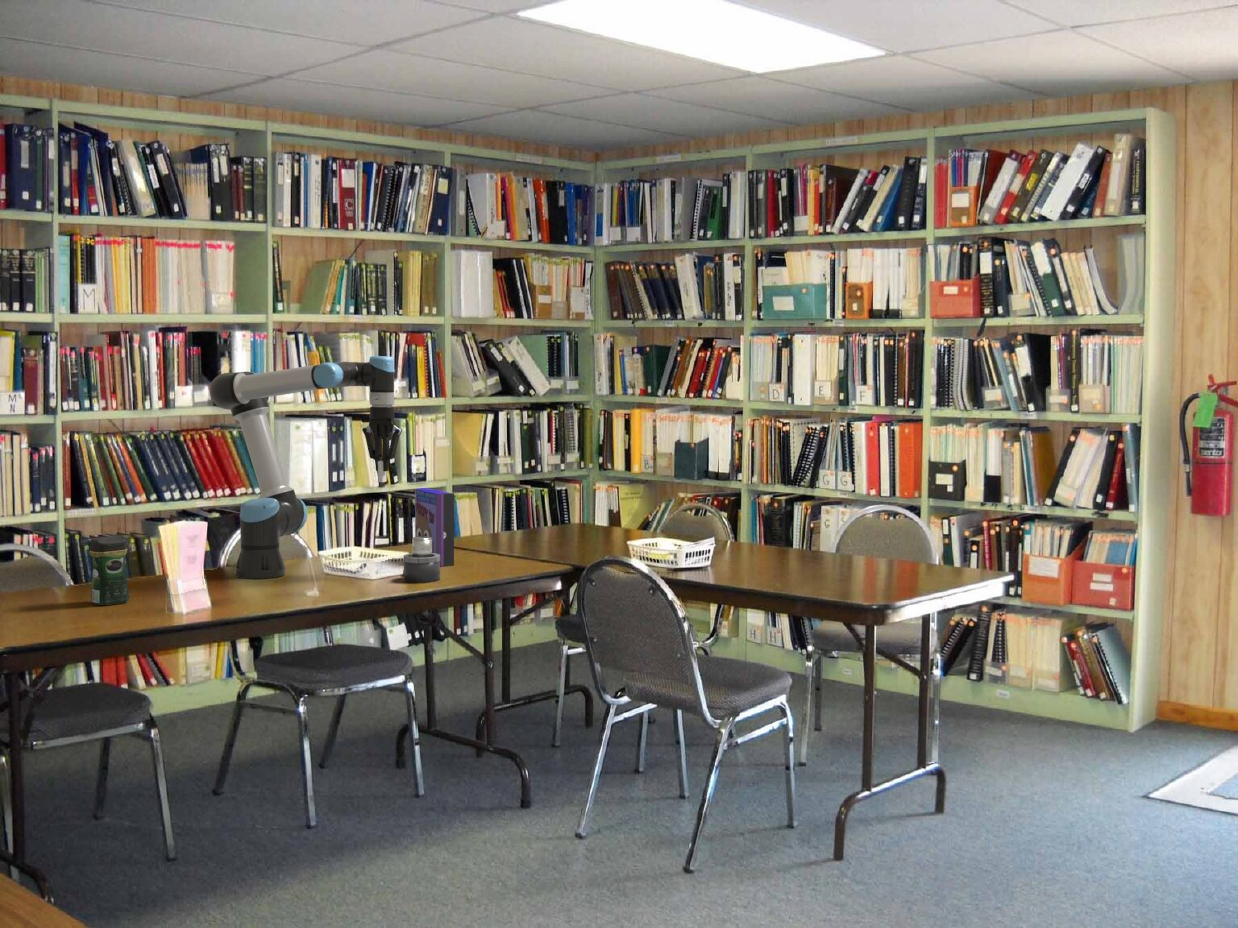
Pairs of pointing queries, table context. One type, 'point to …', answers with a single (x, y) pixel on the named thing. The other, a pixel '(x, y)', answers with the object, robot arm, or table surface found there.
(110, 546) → the coffee jar
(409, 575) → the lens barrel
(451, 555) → the cereal box
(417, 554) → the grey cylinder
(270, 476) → the robot arm
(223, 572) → the table surface
